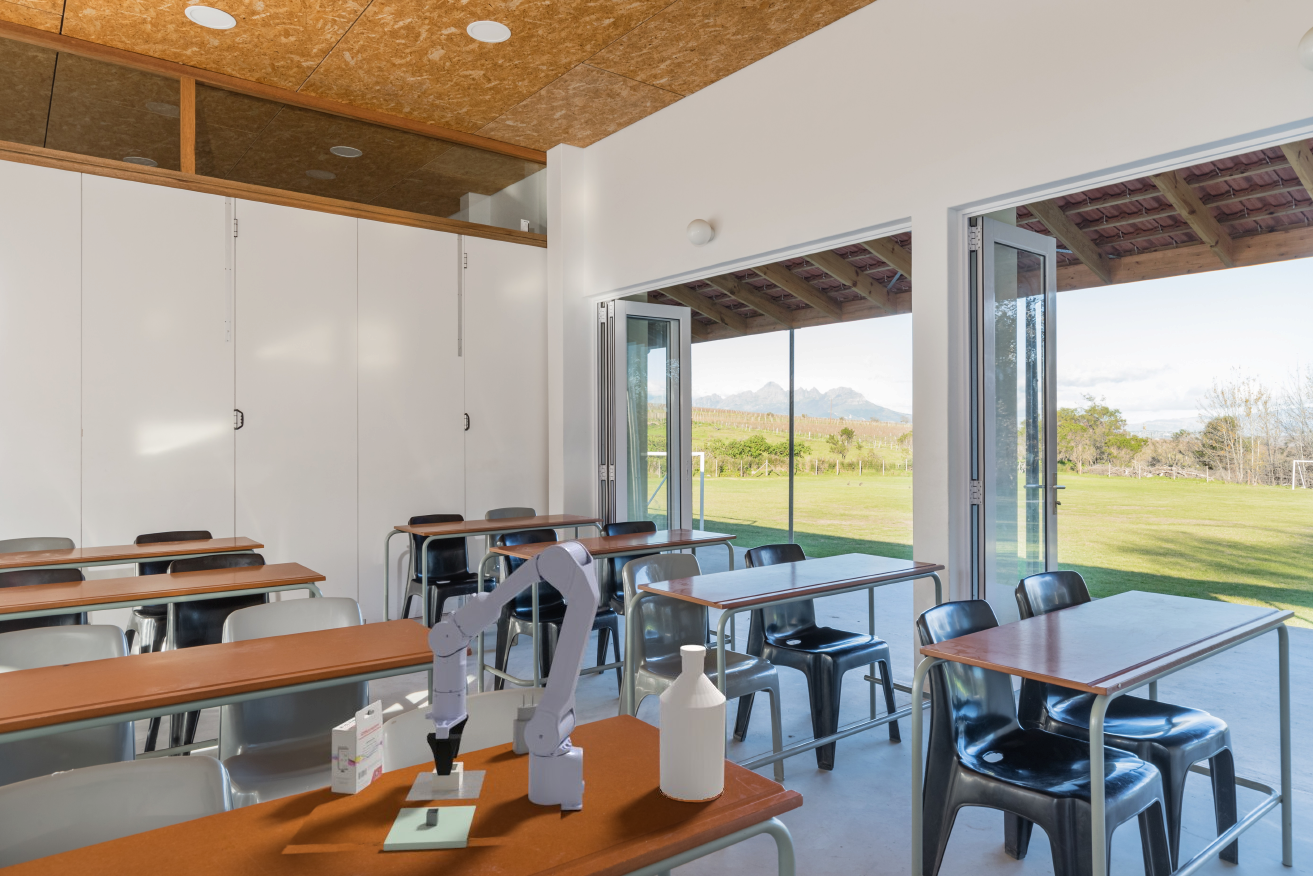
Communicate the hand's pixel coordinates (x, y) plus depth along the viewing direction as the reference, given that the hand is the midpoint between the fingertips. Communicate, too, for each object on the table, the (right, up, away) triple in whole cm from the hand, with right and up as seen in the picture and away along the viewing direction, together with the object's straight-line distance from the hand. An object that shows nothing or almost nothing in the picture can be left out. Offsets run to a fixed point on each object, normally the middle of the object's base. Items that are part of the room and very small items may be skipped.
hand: (447, 766), depth 137 cm
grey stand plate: (0, -4, 0) cm, 4 cm away
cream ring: (0, -3, 0) cm, 3 cm away
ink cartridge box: (-16, -4, 0) cm, 17 cm away
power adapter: (+11, -5, +17) cm, 21 cm away
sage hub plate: (+2, -4, -15) cm, 16 cm away
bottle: (+43, -5, +1) cm, 43 cm away
